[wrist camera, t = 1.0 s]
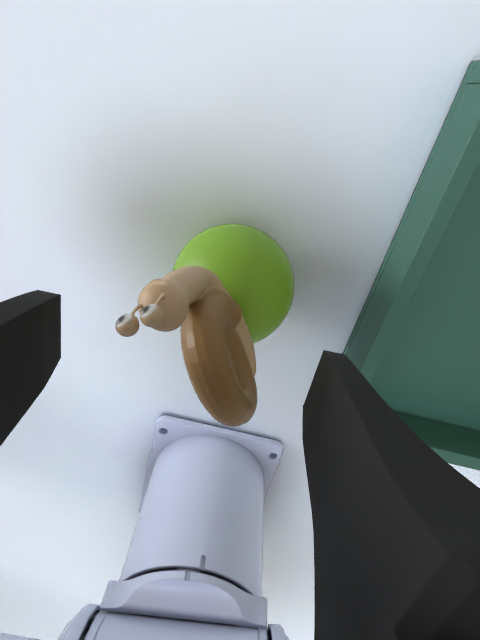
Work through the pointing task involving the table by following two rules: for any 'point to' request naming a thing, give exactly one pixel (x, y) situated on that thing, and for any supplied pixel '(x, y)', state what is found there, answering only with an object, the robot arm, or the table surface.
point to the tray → (433, 296)
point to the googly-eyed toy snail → (220, 312)
